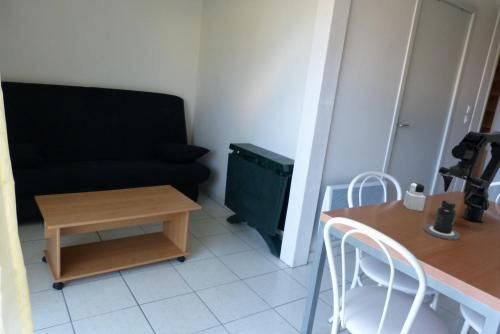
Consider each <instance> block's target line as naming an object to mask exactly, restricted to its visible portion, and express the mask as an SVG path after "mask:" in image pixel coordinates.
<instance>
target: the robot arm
mask: <svg viewBox="0 0 500 334" xmlns="http://www.w3.org/2000/svg"><path fill="white" fill-rule="evenodd" d="M489 143H490V144H489ZM488 144H489V146H490V148H491V149H490V155H491V157H490V160H489V161H488V163H487V165H486V166H485V167H484V170H483V172H482V173H481V176H480V177H475V176H474V174H473V172H474V170H475V169H477V165H476V164H477V162H478V159H479V158H480V155H481V154H483V149H482V148H483V147H486V146H487V145H488ZM451 156H452V157H453V158H454V159H457V160H459V161H458V162H457V163H456V164H455V165H452V166H449V167H445V166H441V167H440V168H439V169H438V174H440V176H442V178H443V188H444V189H443V190H444V192H445V193H446V192H448V190H449V188H450V185H451V183H452V182H453V178H454V177H455V178H459V179H462V180H465V181H468V182H471V184H469V185H468V186H469V187H468V189H467V191H466V192H465V193H464V196H463V197H464V201H463V204H464V206H465V205H466V208H465V209H464V213H463V214H462V216H461V217H462V218H464V219H466V220H468V221H469V222H473V223H474V222H475V223H484V220H482V219H483V215H484V211H487V212H488V209H490V203H489V195H490V194H489V188H490V187H491V184H492V183H493V181H494V178H495V177H496V175H497V173H498V172H499V170H500V131H497V130H496V131H492V132H477V131H471V130H470V131H469V132H467V133H466V134H465V136H464V137H463V138H462V139H461V141H460V142H459V143H458V144H457V145H455V146H453V148H452V149H451ZM473 176H474V177H473Z"/></svg>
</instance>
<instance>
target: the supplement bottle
mask: <svg viewBox="0 0 500 334" xmlns="http://www.w3.org/2000/svg"><path fill="white" fill-rule="evenodd" d="M455 209H456V203H455V202H453V201H449V200H441V204H440V206H439V207H437V210H436V214H435V217H434V222H433V225H434V226H433V229H434V230H436V231H438V232H441V233H445V234H450V233H451V232H452V230H454V225H455V221H456V216H457V211H456V210H455Z"/></svg>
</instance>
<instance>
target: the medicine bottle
mask: <svg viewBox="0 0 500 334" xmlns="http://www.w3.org/2000/svg"><path fill="white" fill-rule="evenodd" d="M424 191H425V186H424V184H422V183H417V182H416V183H415V182H413V183H411V184H410V186H409V191H408V190H406V191H405V195H404V198H403V199H404V200H403V203H402V204H403V206H404V207H405V208H406V210H409V211H410V210H411V211H419V212H423V211H424V208H425V202H426V199H427V198H426V196H425V195H424Z"/></svg>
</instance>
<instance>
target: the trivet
mask: <svg viewBox="0 0 500 334" xmlns="http://www.w3.org/2000/svg"><path fill="white" fill-rule="evenodd" d="M433 226H434V224H426V225H424V226H423V231H424V232H425V233H427V234H428V235H430V236H432V235H433V237H435V238H437V237H438V239H441V238H442V239H441V240H445V239H447V240H446V241H458V240H460V238H461V235H460V234H461V233H459V232H458V231H456V230H454V229H452V232H451V233H450V234H445V233H441V232H438V231H436V230H434V229H433Z"/></svg>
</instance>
